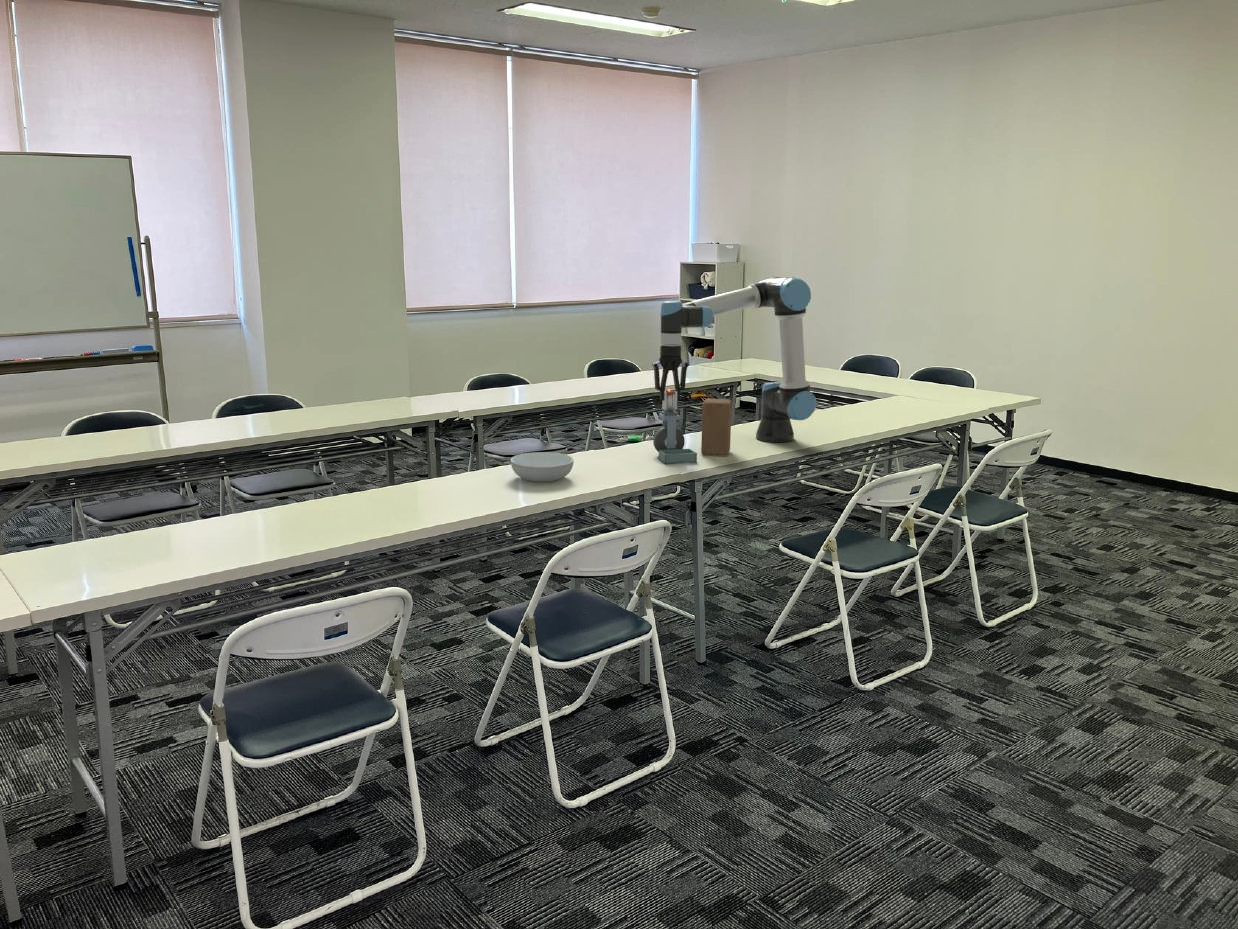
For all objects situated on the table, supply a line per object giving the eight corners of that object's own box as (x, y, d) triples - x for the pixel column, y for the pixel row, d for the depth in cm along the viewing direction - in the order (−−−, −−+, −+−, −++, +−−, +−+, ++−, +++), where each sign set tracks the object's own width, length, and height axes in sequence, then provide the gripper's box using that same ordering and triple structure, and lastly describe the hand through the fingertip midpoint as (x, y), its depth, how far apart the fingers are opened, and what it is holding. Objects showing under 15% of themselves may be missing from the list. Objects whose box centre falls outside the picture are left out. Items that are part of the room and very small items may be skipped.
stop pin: (672, 413, 342) (672, 389, 340) (675, 415, 339) (675, 390, 337) (663, 413, 341) (664, 389, 339) (666, 415, 338) (666, 391, 336)
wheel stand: (680, 453, 348) (680, 409, 344) (685, 457, 342) (686, 412, 338) (651, 454, 345) (652, 411, 341) (657, 458, 339) (657, 413, 335)
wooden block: (727, 457, 342) (729, 403, 338) (700, 455, 344) (702, 402, 340) (730, 451, 352) (732, 399, 347) (703, 450, 354) (705, 398, 349)
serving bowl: (505, 486, 299) (505, 465, 297) (516, 470, 319) (516, 451, 318) (570, 487, 298) (570, 466, 296) (576, 472, 318) (576, 452, 316)
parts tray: (689, 457, 340) (690, 448, 339) (696, 462, 333) (697, 452, 332) (658, 459, 337) (658, 450, 336) (664, 464, 330) (665, 454, 329)
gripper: (688, 343, 339) (687, 406, 345) (645, 344, 335) (645, 408, 341) (695, 345, 332) (694, 409, 338) (652, 346, 328) (651, 411, 334)
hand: (669, 408), depth 339 cm, fingers closed on stop pin, 3 cm apart
